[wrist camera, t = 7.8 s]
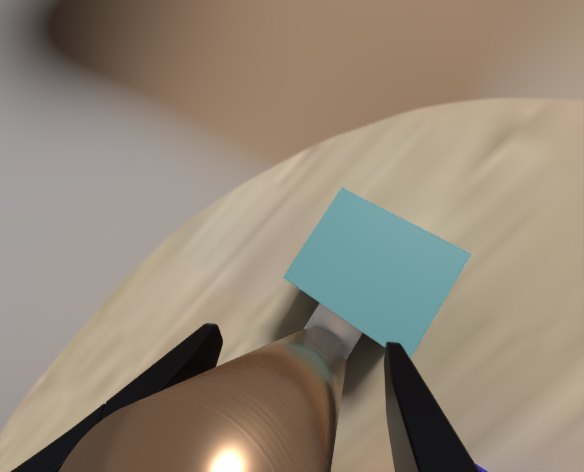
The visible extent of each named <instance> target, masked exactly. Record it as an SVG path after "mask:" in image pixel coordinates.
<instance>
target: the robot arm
mask: <svg viewBox="0 0 584 472" xmlns="http://www.w3.org/2000/svg"><path fill="white" fill-rule="evenodd" d="M222 345H223V339H222V336H221V333H220V330H219V327H218V325H217V324H211V323H206V324H204V325H203V326H201V327H200V328H199V329H198V330H196V331H195V332H194V333H193V334H191V335H190V336H189V337H187V338H186V339H185V340H184V341H182V342H181V343H180V344H179V345H177V346H176V347H175V348H174V349H172V350H171V351H170V352H169V353H167V354H166V355H165V356H163V357H162V358H161V359H160V360H158V361H157V362H156V363H155V364H153V365H152V366H151V367H150V368H148V369H147V370H146V371H144V372H143V373H142V374H141V375H139V376H138V377H137V378H136V379H134V380H133V381H132V382H131V383H129V384H128V385H127V386H126V387H124V388H123V389H122V390H120V391H119V392H118V393H117V394H115V395H114V396H113V397H112V398H110V399H109V400H108V401H107V402H106V404H103V405H101V406H100V407H99V408H98V409H96V410H95V411H94V412H93V413H91V414H90V415H89V416H87V417H86V418H85V419H83V420H82V421H81V422H80V423H78V424H77V425H76V426H74V427H73V428H72V429H70V430H69V431H68V432H66V433H65V434H63V435H62V436H61V437H59V438H58V439H56V440H55V441H54V442H52V443H51V444H50V445H48V446H47V447H45V448H44V449H42V450H41V451H40V452H38V453H37V454H35V455H34V456H32V457H31V458H30V459H28V460H27V461H25V462H24V463H22V464H21V465H20V466H18V467H17V468H15V469H14V470H12V471H11V472H59V470H60V468H61V467H62V465H63V464H64V462H65V460H66V459H67V457H68V455H69V454H70V453H71V451H72V450H73V449H74V448H75V446H76V445H77V444H78V442H79V441H80V440H81V439H82V438H83V437H84V436H85V435H86V434H87V433H88V432H89V431H90V430H91V429H92V428H93V427H94V426H95V425H96V424H98V423H99V422H100V421H101V420H103V419H104V418H105V417H107V416H109V415H110V414H112V413H114V412H115V411H117V410H119V409H121V408H123V407H125V406H128V405H130V404H132V403H135V402H137V401H139V400H141V399H144V398H146V397H148V396H151V395H153V394H155V393H158V392H160V391H162V390H164V389H167V388H169V387H171V386H174V385H176V384H178V383H181V382H183V381H185V380H187V379H190V378H192V377H194V376H197V375H199V374H201V373H203V372H206V371H208V370H210V369H213V368H215V367H216V365H217V362H218V358H219V355H220V352H221V349H222ZM384 373H385V395H386V414H387V423H388V430H389V437H390V443H391V449H392V456H393V462H394V468H395V472H480V471H479V470H478V468H477V466H476V465H475V463H474V461H473V460H472V458H471V457H470V455H469V453H468V452H467V450H466V448H465V447H464V445H463V444H462V442H461V440H460V439H459V437H458V435H457V434H456V432H455V431H454V429H453V427H452V426H451V424H450V422H449V421H448V419H447V418H446V416H445V414H444V413H443V411H442V409H441V408H440V406H439V405H438V403H437V401H436V400H435V398H434V396H433V395H432V393H431V392H430V390H429V388H428V387H427V385H426V383H425V382H424V380H423V379H422V377H421V375H420V374H419V372H418V370H417V369H416V367H415V366H414V364H413V362H412V361H411V359H410V357H409V356H408V354H407V353H406V351H405V349H404V348H403V346H402V345H401V344H400V343H398V342H389V341H388V342H386V346H385V356H384Z"/></svg>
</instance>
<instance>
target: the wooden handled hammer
mask: <svg viewBox="0 0 584 472" xmlns="http://www.w3.org/2000/svg"><path fill="white" fill-rule="evenodd" d="M362 333H363V332H362V331H360V330H359V329H357V328H356V327H354V326H353V325H351V324H350V323H348V322H347V321H346V320H344V319H343V318H341V317H340V316H338V315H337V314H335V313H334V312H332V311H331V310H330V309H328V308H327V307H325V306H324V305H322V304H321V303H319V305H318V307H317V308H316V310H315V311H314V313H313V315H312V316H311V318H310V319H309V321H308V322H307V324H306V326H305V327H304V329H302V330H300V331H298V332H295V333H293V334H291V335H289V336H286V337H284V338H282V339H279V340H277V341H275V342H272V343H270V344H268V345H266V346H263V347H261V348H259V349H256V350H254V351H252V352H249V353H247V354H245V355H243V356H240V357H238V358H236V359H233V360H231V361H229V362H226V363H224V364H222V365H220V366H217V367H215V368H213V369H210V370H208V371H206V372H203V373H201V374H199V375H197V376H194V377H192V378H190V379H187V380H185V381H183V382H181V383H178V384H176V385H174V386H171V387H169V388H167V389H164V390H162V391H160V392H158V393H155V394H153V395H151V396H148V397H146V398H144V399H141V400H139V401H137V402H135V403H132V404H130V405H128V406H125V407H123V408H121V409H119V410H117V411H115V412H114V413H112V414H110V415H109V416H107V417H105V418H104V419H103V420H101V421H100V422H99V423H98V424H96V425H95V426H94V427H93V428H92V429H91V430H90V431H89V432H88V433H87V434H86V435H85V436H84V437H83V438H82V439H81V440H80V441H79V442H78V444H77V445H76V446H75V448H74V449H73V450H72V451H71V453H70V454H69V455H68V457H67V459H66V460H65V462H64V464H63V465H62V467H61V468H60V470H59V472H330V471H331V464H332V457H333V451H334V444H335V437H336V430H337V424H338V417H339V410H340V404H341V397H342V390H343V384H344V377H345V370H346V360H347V358H348V356H349V355H350V353H351V351H352V350H353V348H354V347H355V345H356V343H357V342H358V340H359V338H360V337H361V335H362Z"/></svg>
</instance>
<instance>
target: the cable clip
mask: <svg viewBox="0 0 584 472" xmlns="http://www.w3.org/2000/svg"><path fill="white" fill-rule="evenodd" d="M475 465H476V466H477V468H478V470H479V471H480V472H487V471H486V470H484V469H483V468H481V467H480V466H478V465H477V464H475Z"/></svg>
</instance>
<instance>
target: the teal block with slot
mask: <svg viewBox="0 0 584 472" xmlns="http://www.w3.org/2000/svg"><path fill="white" fill-rule="evenodd" d="M470 256H471V253H469V252H467V251H465V250H463V249H461V248H459V247H457V246H455V245H453V244H451V243H449V242H447V241H445V240H443V239H441V238H439V237H437V236H436V235H434V234H432V233H430V232H428V231H426V230H424V229H422V228H420V227H418V226H416V225H414V224H412V223H410V222H408V221H406V220H404V219H402V218H400V217H398V216H396V215H394V214H392V213H391V212H389V211H387V210H385V209H383V208H381V207H379V206H377V205H375V204H373V203H371V202H369V201H367V200H365V199H363V198H361V197H359V196H357V195H355V194H353V193H351V192H349V191H348V190H346V189H344V188H341V189H340V191H339V192H338V194H337V196H336V197H335V199H334V200H333V202H332V203H331V205H330V206H329V208H328V209H327V211H326V212H325V214H324V215H323V217H322V218H321V220H320V222H319V223H318V225H317V226H316V228H315V229H314V231H313V232H312V234H311V235H310V237H309V238H308V240H307V241H306V243H305V244H304V246H303V248H302V249H301V251H300V252H299V254H298V255H297V257H296V258H295V260H294V261H293V263H292V264H291V266H290V267H289V269H288V271H287V272H286V274H285V275H284V277H283V278H284V279H286V280H287V281H289V282H290V283H292V284H293V285H295V286H296V287H298V288H299V289H300V290H302V291H303V292H305V293H306V294H308V295H309V296H311V297H312V298H314V299H315V300H316V301H318V302H319V303H321V304H322V305H324V306H325V307H327V308H328V309H330V310H331V311H332V312H334V313H335V314H337V315H338V316H340V317H341V318H343V319H344V320H346V321H347V322H348V323H350V324H351V325H353V326H354V327H356V328H357V329H359V330H360V331H362V332H363V333H364V334H366V335H367V336H369V337H370V338H372V339H373V340H375V341H376V342H378V343H379V344H380V345H382V346H383V347H385V346H386V342H388V341H389V342H398V343H400V344H401V345H402V346H403V348H404V349H405V351H406V353H407V354H408V356H409V357H410V358H411V356H412V355H413V353H414V351H415V350H416V348H417V346H418V345H419V343H420V341H421V339H422V338H423V336H424V334H425V333H426V331H427V329H428V327H429V326H430V324H431V322H432V321H433V319H434V317H435V316H436V314H437V312H438V310H439V309H440V307H441V305H442V304H443V302H444V300H445V298H446V297H447V295H448V293H449V292H450V290H451V288H452V286H453V285H454V283H455V281H456V280H457V278H458V276H459V275H460V273H461V271H462V269H463V268H464V266H465V264H466V263H467V261H468V259H469V257H470Z"/></svg>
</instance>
